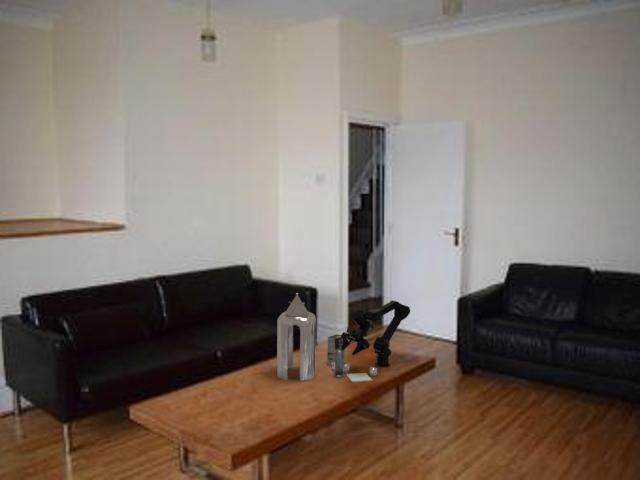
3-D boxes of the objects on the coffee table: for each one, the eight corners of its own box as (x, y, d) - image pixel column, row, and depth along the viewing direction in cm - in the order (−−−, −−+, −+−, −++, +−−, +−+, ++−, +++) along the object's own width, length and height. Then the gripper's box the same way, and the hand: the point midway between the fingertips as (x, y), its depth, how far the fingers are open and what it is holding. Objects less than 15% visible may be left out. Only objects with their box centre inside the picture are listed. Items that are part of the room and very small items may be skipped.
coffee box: (335, 366, 329) (336, 339, 327) (326, 364, 333) (327, 336, 331) (345, 362, 336) (345, 335, 335) (336, 360, 340) (336, 333, 338)
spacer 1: (337, 368, 327) (338, 361, 326) (339, 370, 323) (339, 363, 322) (331, 368, 326) (331, 361, 325) (332, 370, 322) (332, 363, 321)
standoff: (342, 373, 317) (343, 348, 315) (345, 377, 311) (346, 351, 310) (332, 374, 316) (332, 348, 314) (334, 378, 310) (335, 352, 308)
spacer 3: (375, 373, 318) (375, 366, 318) (377, 376, 314) (378, 369, 314) (368, 374, 317) (368, 367, 317) (370, 376, 313) (371, 369, 313)
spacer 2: (348, 369, 324) (348, 362, 323) (350, 372, 320) (350, 365, 320) (341, 370, 323) (341, 363, 323) (343, 372, 319) (343, 365, 319)
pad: (365, 373, 317) (365, 372, 317) (372, 380, 307) (372, 379, 307) (346, 375, 315) (346, 374, 315) (352, 382, 304) (352, 381, 304)
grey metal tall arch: (316, 368, 325) (317, 290, 320) (312, 381, 305) (313, 297, 300) (281, 366, 327) (281, 288, 322) (274, 379, 307) (275, 296, 302)
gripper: (344, 318, 324) (328, 340, 319) (366, 325, 310) (350, 348, 304) (354, 329, 330) (338, 351, 324) (376, 337, 315) (361, 360, 310)
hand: (347, 352), depth 315 cm, fingers open, 9 cm apart
